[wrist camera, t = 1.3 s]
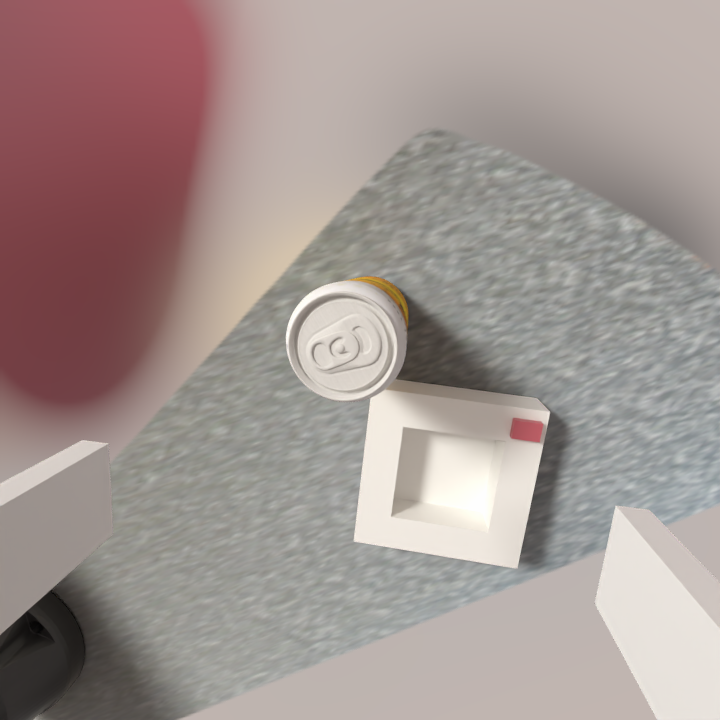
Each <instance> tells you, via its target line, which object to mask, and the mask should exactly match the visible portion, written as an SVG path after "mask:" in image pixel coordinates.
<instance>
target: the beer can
mask: <svg viewBox="0 0 720 720" xmlns="http://www.w3.org/2000/svg"><path fill="white" fill-rule="evenodd" d="M408 316H409V315H408V307H407V303H406V301H405V298H404V296H403V295H402V293H401V292H400V291H399V289H398V288H397V287H396V286H394V285H393V284H392V283H390V282H389V281H387V280H385V279H382V278H378V277H371V276H370V277H361V278H356V279H351V280H345V281H340V282H335V283H331V284H327V285H324V286H322V287H319V288H318V289H316V290H314V291H312V292H311V293H310V294H308V295H307V296H306V297H305V298H304V299H303V300H302V301H301V302H300V303H299V304H298V306H297V307H296V309H295V310H294V312H293V314H292V316H291V318H290V321H289V324H288V328H287V334H286V347H287V353H288V358H289V360H290V363H291V366H292V368H293V370H294V371H295V373H296V375H297V376H298V377H299V379H300V380H301V381H302V382H303V383H304V384H305V385H306V386H307V387H308V388H309V389H310V390H312V391H313V392H315V393H316V394H318V395H320V396H322V397H324V398H327V399H330V400H334V401H339V402H358V401H362V400H366V399H369V398H371V397H373V396H376V395H377V394H379V393H381V392H382V391H384V390H385V389H386V388H387V387H388V386H389V385H390V384H391V383H392V382H393V381H394V380H395V378H396V377H397V376H398V374H399V372H400V370H401V368H402V366H403V363H404V360H405V356H406V350H407V334H408Z"/></svg>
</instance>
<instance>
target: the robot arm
mask: <svg viewBox="0 0 720 720" xmlns="http://www.w3.org/2000/svg"><path fill="white" fill-rule="evenodd" d="M112 535H113V517H112V498H111V479H110V460H109V444H108V443H100V442H93V441H85V440H82V441H80V442H78V443H76V444H74V445H73V446H71V447H69V448H67V449H65V450H63V451H61V452H59V453H57V454H55V455H53V456H52V457H50V458H48V459H46V460H44V461H42V462H40V463H38V464H36V465H34V466H32V467H31V468H29V469H27V470H25V471H23V472H21V473H19V474H17V475H15V476H13V477H12V478H10V479H8V480H6V481H4V482H2V483H0V720H33V719H34V718H35V717H37V716H38V715H40V714H42V713H43V712H45V711H46V710H48V709H49V708H51V707H52V706H53V705H54V704H55V703H57V702H58V701H59V700H60V699H61V697H62V696H63V695H64V694H65V692H66V691H67V690H68V689H69V688H70V686H71V685H72V684H73V683H74V681H75V680H76V679H77V677H78V676H79V674H80V672H81V670H82V667H83V663H84V642H83V638H82V634H81V631H80V629H79V627H78V624H77V622H76V621H75V619H74V617H73V616H72V614H71V613H70V611H69V610H68V609H67V608H66V606H65V605H64V604H63V603H62V602H61V601H60V600H59V599H58V598H57V597H56V596H55V595H53V594H52V593H51V592H50V590H51V589H52V588H53V587H54V586H56V585H57V584H58V583H59V582H60V581H61V580H62V579H63V578H65V577H66V576H67V575H68V574H69V573H70V572H71V571H72V570H73V569H75V568H76V567H77V566H78V565H79V564H80V563H81V562H82V561H84V560H85V559H86V558H87V557H88V556H89V555H90V554H91V553H93V552H94V551H95V550H96V549H97V548H98V547H99V546H100V545H102V544H103V543H104V542H105V541H106V540H107V539H108V538H109V537H111V536H112ZM595 605H596V607H597V609H598V611H599V613H600V614H601V616H602V618H603V620H604V622H605V624H606V625H607V627H608V629H609V631H610V633H611V635H612V637H613V638H614V640H615V642H616V644H617V646H618V648H619V650H620V652H621V653H622V655H623V657H624V659H625V661H626V663H627V664H628V667H629V668H630V670H631V672H632V674H633V676H634V678H635V679H636V681H637V683H638V685H639V687H640V689H641V691H642V692H643V694H644V696H645V698H646V700H647V702H648V704H649V706H650V707H651V709H652V711H653V713H654V715H655V717H656V719H657V720H720V582H719V581H718V580H717V579H716V578H715V577H714V576H713V575H712V574H711V573H710V572H709V571H708V570H707V569H706V568H705V567H704V566H703V565H702V564H701V563H700V562H699V561H698V560H697V559H696V558H695V557H694V556H693V554H692V553H690V551H689V550H688V549H687V548H686V547H685V546H684V545H683V544H682V543H681V542H680V541H679V540H678V539H677V538H676V537H675V536H674V535H673V534H672V533H671V532H670V531H669V530H668V529H667V528H666V527H665V526H664V525H663V523H662V522H661V521H660V520H659V519H658V518H657V517H656V516H655V515H654V514H653V513H652V512H651V511H650V510H647V509H639V508H631V507H623V506H616V507H615V512H614V516H613V521H612V525H611V530H610V535H609V539H608V544H607V548H606V553H605V558H604V562H603V567H602V572H601V576H600V581H599V585H598V590H597V595H596V599H595Z"/></svg>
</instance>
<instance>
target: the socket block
mask: <svg viewBox="0 0 720 720" xmlns="http://www.w3.org/2000/svg"><path fill="white" fill-rule="evenodd" d="M549 416H550V411H549V410H548V409H547V408H546V407H545V406H544V405H543V404H542V403H541V402H540V401H539V400H538V399H537V398H533V397H525V396H518V395H510V394H503V393H495V392H488V391H480V390H473V389H465V388H458V387H450V386H443V385H435V384H428V383H420V382H413V381H405V380H398V379H395V380H394V381H393V382H392V383H391V384H390V385H389V386H388V387H387V388H386V389H385V390H384V391H382V392H381V393H379V394H377V395H376V396H373V397H371V400H370V408H369V417H368V425H367V434H366V442H365V450H364V459H363V467H362V476H361V484H360V493H359V501H358V509H357V518H356V526H355V535H354V541H355V542H361V543H367V544H372V545H378V546H384V547H390V548H396V549H402V550H408V551H414V552H420V553H426V554H432V555H438V556H444V557H450V558H456V559H462V560H468V561H474V562H480V563H486V564H492V565H498V566H504V567H510V568H516V569H517V567H518V563H519V558H520V553H521V548H522V544H523V539H524V534H525V529H526V525H527V520H528V515H529V511H530V506H531V501H532V496H533V492H534V487H535V482H536V477H537V473H538V468H539V463H540V459H541V454H542V449H543V444H544V440H545V435H546V430H547V425H548V421H549Z"/></svg>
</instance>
